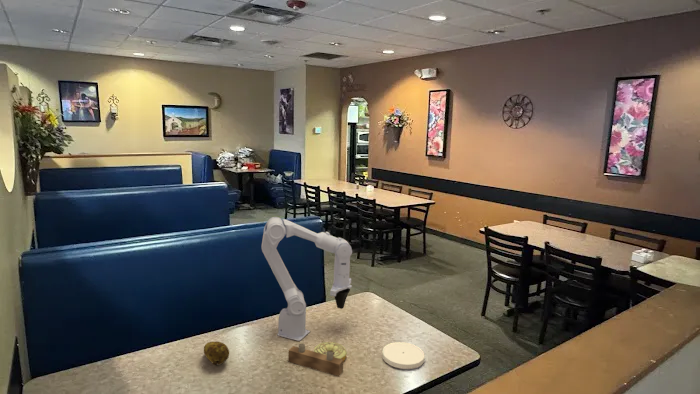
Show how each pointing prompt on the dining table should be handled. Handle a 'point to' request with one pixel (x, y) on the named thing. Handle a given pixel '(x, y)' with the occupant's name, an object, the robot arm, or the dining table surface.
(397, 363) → the plastic lid
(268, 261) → the robot arm
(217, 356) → the potato
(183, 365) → the dining table surface
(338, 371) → the bar
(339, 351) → the decorated donut
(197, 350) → the dining table surface
